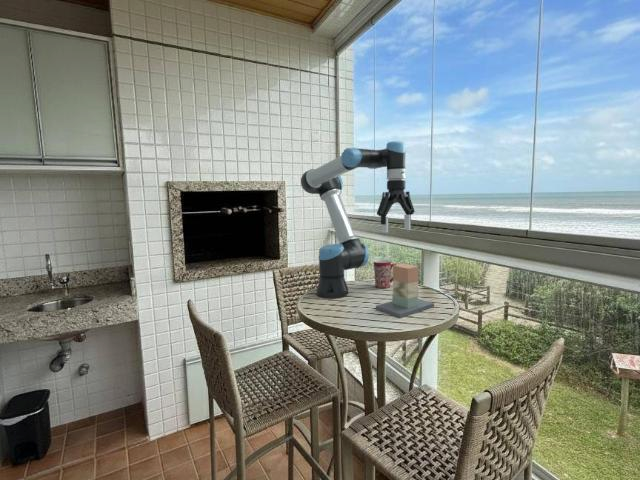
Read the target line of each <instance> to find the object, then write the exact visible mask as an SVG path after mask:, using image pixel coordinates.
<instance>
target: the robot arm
mask: <svg viewBox="0 0 640 480" xmlns="http://www.w3.org/2000/svg"><path fill="white" fill-rule="evenodd" d="M358 168H368V169H371V170H372V169H373V170H374V169H380V168H386V180H387V182H386V189H387V190H388V191H383V192H382V195H381V196H382V197H381V200H380V203H379V206H378V209H377V212H376V215H377V216H378V217H380V225H381V232H382V233H389V217H388V216H387V215H388V214H389V212H390V211H391V210H390V209H392V206H393V205H394V204H395V203H396V204H399V205H400V207H401V209H402V210H403V212H404V213H405V214H404V216H403V219H404V222H403V223H404V224H403V225H404V227H403V229H404V230H405V231H406V230H407V231H411V221H412V216H413V215H414V213H415V212H416V211H415V208H414V205H413V202H412V199H411V195H410V191H405V190H406V187H407V186H406V143H405V142H404V141H401V140H394V141H388V142H387V143H386V147H385V148H383V149H368V148H358V147H357V148H356V147H347V148H345V149H344V150H343V152H342V153H341V155H339V156H338V157H336V158H334V159H332V160H330V161H328V162H327V163H324V164H323V165H321V166H319V167H316V168H310V169H308V170H307V171H305V172H304V173H303V174H302V175H301V178H300V186H301V188H302V189H303V191H304V192H306V193H308V194H312V195H313V194H314V195H319V198H320V200H322V201H323V202H324V205H325V206H326V209H327V212H328V214H329V217H330V220H331V223H332V226H333V229H334V231H335V234H336V237H337V239H338V243H332V244H327V245H324V246H322V247H320V249H319V251H318V260H319V262H318V263H319V267H318V268H319V280H318V283H317V284H318V285H317V287H316V296H317V297H321V298H324V299H338V298H344V297H346V296H348V295H349V288H348V284H347V282H346V278H345V271H347V270H351V269H352V270H353V269H360V268H361V267H362V268H363V267H364V266H365V265H367V263H368V261H369V258H370V250H369V247H368V246H367V245H366V244H365V243H362V242H361V240H360V238H359V237H357V236H356V235H355V232H354V229H353V227H352V225H351V222H350V219H349V216H348V214H347V211H346V208H345V206H344V203H343V200H342V197H341V194H342V190H343V186H344V182H343V178H342V177H341V176H342V175H344V174H346V173H348V172H350V171H353V170H355V169H358Z"/></svg>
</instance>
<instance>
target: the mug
mask: <svg viewBox="0 0 640 480" xmlns="http://www.w3.org/2000/svg"><path fill="white" fill-rule="evenodd" d="M372 263H373V268H374V270H373V273H374V280H375V281H374V283H375V285H374V286H375V288H377V289H383V290H384V289H389V288H390V287H391V284H392V283H393V277H392V278H391V276H392V275H391V272H392V271H391V270H393V265H398V264H397V263H392V260H391V259H388V258H387V259H384V258H383V259H381V258H380V259H373V262H372Z"/></svg>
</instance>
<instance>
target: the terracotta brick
mask: <svg viewBox="0 0 640 480" xmlns="http://www.w3.org/2000/svg"><path fill="white" fill-rule="evenodd" d="M419 271H420V270H419V266H417V265H413V264H407V263H400V264H399V263H398V264H397V265H393V267H392V278H393V280H395V281H399V282H403V283H407V284H409V283H414V282H418V283H419V282H420V281H419Z"/></svg>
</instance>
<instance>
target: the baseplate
mask: <svg viewBox="0 0 640 480" xmlns="http://www.w3.org/2000/svg"><path fill="white" fill-rule="evenodd" d="M391 295H392V300H391V301H388V302H384V303H382V304H378V305H375V310H377V311H380V312H382V313H385V314H388V315H391V316H393V317H396V318H399V319H401V318H405V317H407V316H412V315H413V314H417V313H420V312H423V311H426V310H428V309H433V308H434V307H435V302H434V303H433V302H432V301H426V300H424V299H420V298H419V295H418V296H416V297H413V298H410V299H407V298H404V297H400V296H397V295H393V293H392V294H391Z"/></svg>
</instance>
